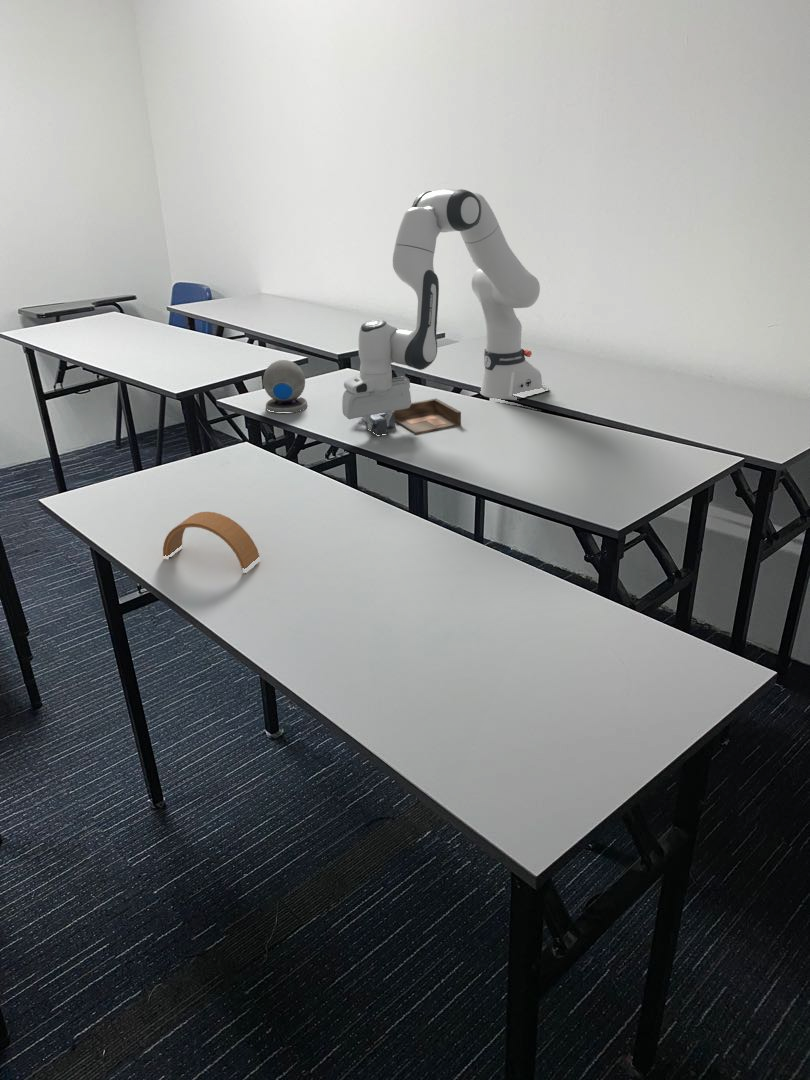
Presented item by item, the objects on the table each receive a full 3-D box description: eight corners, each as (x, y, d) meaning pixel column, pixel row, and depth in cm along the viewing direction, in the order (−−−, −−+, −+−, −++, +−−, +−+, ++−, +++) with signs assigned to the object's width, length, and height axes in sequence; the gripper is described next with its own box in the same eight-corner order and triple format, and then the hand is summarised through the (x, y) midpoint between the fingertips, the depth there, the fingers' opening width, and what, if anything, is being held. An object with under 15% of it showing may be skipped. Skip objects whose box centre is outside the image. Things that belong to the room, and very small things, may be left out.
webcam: (308, 400, 264) (304, 354, 257) (305, 413, 253) (301, 365, 246) (268, 402, 264) (263, 356, 257) (263, 415, 252) (258, 367, 245)
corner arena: (436, 411, 251) (436, 398, 249) (460, 425, 239) (460, 411, 237) (392, 419, 245) (391, 406, 243) (415, 434, 233) (414, 420, 231)
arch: (180, 547, 176) (172, 505, 171) (260, 562, 169) (255, 518, 164) (163, 559, 171) (155, 517, 166) (245, 575, 164) (239, 531, 159)
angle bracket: (366, 428, 239) (365, 413, 237) (390, 423, 242) (390, 409, 240) (377, 436, 232) (376, 421, 230) (402, 431, 235) (402, 416, 233)
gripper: (404, 372, 234) (405, 418, 241) (338, 383, 226) (341, 430, 233) (414, 377, 229) (415, 424, 236) (347, 389, 221) (350, 437, 228)
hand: (378, 427), depth 234 cm, fingers closed on angle bracket, 3 cm apart
